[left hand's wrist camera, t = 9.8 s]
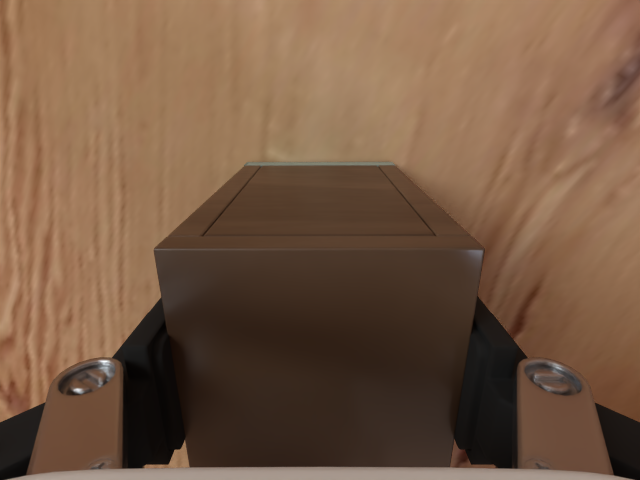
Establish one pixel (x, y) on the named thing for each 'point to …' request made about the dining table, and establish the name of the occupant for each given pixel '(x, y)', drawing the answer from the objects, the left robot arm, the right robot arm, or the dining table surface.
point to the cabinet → (319, 319)
